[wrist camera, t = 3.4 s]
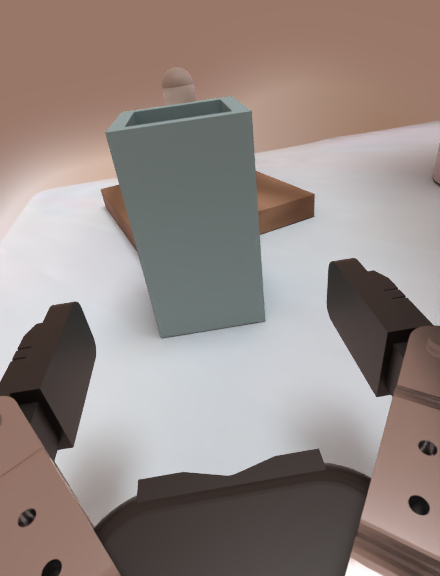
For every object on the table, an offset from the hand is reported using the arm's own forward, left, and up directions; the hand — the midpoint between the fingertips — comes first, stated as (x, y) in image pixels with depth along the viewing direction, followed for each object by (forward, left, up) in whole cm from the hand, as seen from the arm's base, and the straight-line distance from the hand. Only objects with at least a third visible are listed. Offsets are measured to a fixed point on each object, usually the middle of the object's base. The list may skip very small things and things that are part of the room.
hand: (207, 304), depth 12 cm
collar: (-3, -9, -7) cm, 12 cm away
